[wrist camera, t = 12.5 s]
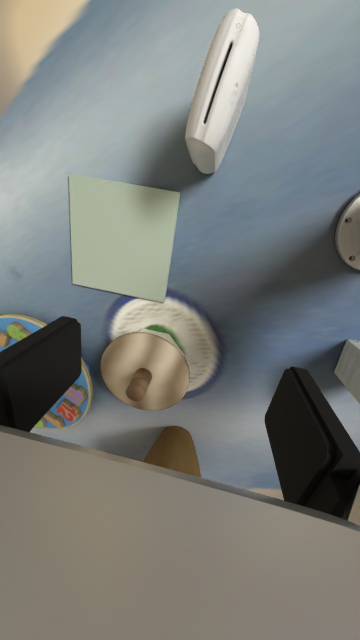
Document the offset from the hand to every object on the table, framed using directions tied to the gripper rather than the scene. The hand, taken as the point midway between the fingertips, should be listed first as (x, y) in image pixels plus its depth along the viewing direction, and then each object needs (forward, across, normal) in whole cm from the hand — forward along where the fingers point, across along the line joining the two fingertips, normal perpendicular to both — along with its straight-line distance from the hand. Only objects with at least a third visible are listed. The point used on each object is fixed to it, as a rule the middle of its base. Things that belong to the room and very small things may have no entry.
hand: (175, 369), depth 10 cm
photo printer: (+31, +2, -18) cm, 35 cm away
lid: (+25, +7, +21) cm, 33 cm away
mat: (+30, +15, -1) cm, 34 cm away
